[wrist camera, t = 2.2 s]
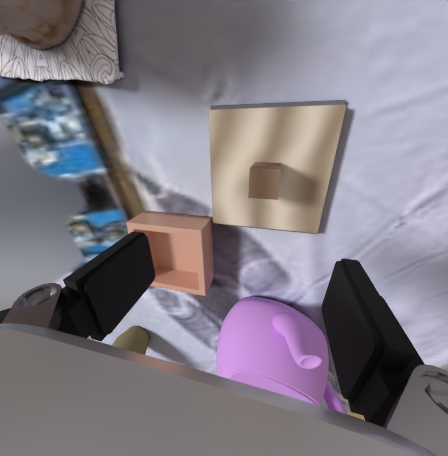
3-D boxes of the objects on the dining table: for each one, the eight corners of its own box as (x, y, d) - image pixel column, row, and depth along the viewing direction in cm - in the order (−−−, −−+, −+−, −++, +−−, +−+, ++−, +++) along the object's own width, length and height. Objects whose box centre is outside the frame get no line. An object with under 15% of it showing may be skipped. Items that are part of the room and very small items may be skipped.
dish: (211, 216, 31) (200, 230, 27) (214, 276, 36) (205, 296, 32) (145, 210, 34) (125, 222, 29) (156, 267, 39) (141, 284, 34)
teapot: (309, 371, 41) (324, 483, 28) (217, 330, 43) (189, 417, 30) (382, 300, 30) (463, 432, 17) (253, 250, 32) (235, 332, 19)
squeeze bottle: (147, 323, 48) (84, 415, 32) (158, 345, 51) (105, 438, 36) (121, 321, 51) (51, 405, 35) (133, 342, 54) (73, 428, 38)
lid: (344, 105, 21) (365, 96, 16) (316, 230, 27) (325, 252, 22) (210, 110, 24) (192, 104, 19) (214, 220, 31) (201, 238, 26)
